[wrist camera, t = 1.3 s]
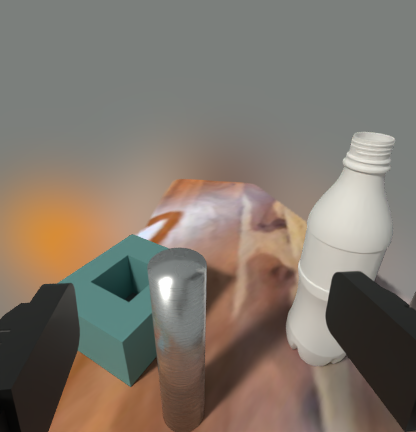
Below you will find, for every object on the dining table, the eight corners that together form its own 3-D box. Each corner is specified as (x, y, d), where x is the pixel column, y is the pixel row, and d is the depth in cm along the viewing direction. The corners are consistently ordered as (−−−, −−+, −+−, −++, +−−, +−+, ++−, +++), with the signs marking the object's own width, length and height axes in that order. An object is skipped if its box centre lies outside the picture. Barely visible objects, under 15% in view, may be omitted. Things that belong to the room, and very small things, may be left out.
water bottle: (354, 378, 33) (449, 153, 20) (286, 371, 33) (338, 148, 21) (336, 324, 39) (401, 127, 26) (279, 319, 39) (317, 124, 27)
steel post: (178, 382, 32) (171, 241, 23) (211, 403, 30) (217, 259, 21) (154, 417, 29) (134, 271, 20) (189, 442, 27) (184, 294, 18)
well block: (137, 271, 47) (132, 234, 44) (202, 302, 42) (202, 261, 38) (57, 335, 37) (42, 293, 33) (130, 386, 31) (122, 342, 28)
